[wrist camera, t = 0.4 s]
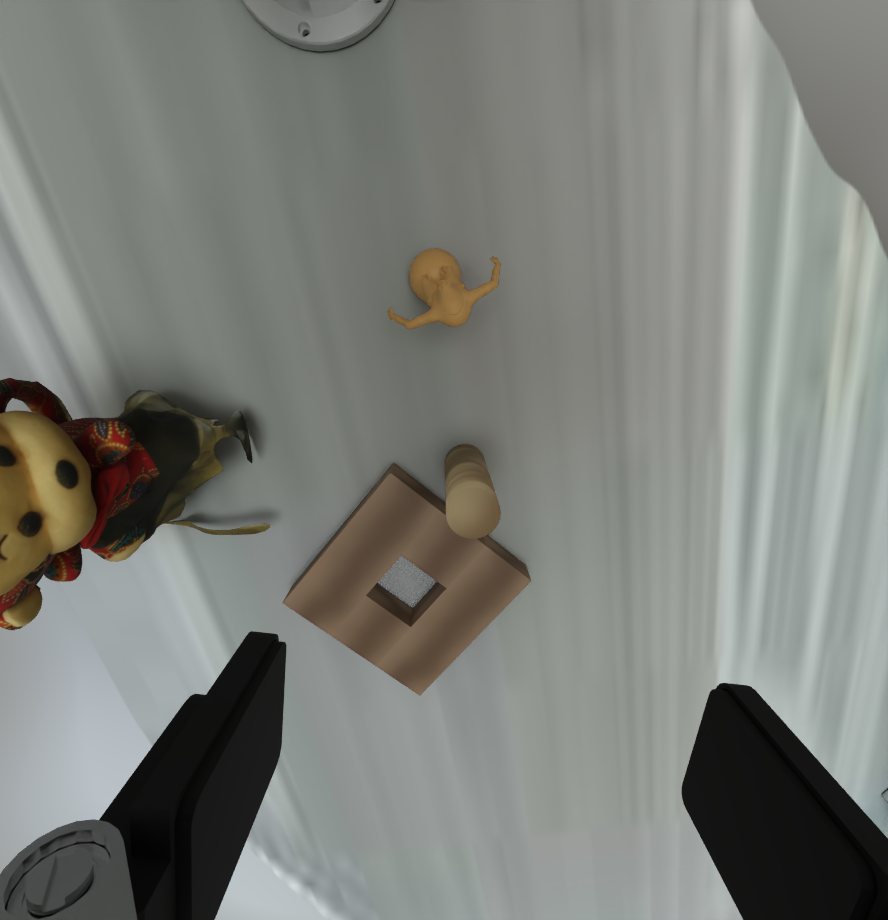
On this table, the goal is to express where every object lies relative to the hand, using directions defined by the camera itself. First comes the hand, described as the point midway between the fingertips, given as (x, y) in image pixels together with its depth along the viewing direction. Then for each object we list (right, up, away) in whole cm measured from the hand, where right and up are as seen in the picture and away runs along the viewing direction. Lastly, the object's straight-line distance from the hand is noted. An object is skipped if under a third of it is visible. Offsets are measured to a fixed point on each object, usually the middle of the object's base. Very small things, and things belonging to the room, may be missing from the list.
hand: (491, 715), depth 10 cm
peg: (+1, +5, +33) cm, 33 cm away
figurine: (-1, +19, +29) cm, 35 cm away
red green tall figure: (-24, +6, +32) cm, 41 cm away
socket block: (-4, -6, +36) cm, 36 cm away
